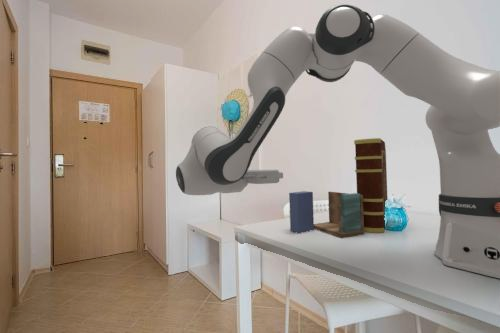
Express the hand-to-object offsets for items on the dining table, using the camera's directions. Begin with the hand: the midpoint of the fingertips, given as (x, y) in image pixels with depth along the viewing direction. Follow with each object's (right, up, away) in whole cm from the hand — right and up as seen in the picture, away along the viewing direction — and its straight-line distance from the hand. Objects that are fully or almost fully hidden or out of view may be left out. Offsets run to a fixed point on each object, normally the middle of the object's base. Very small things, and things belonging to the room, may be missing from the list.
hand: (271, 175), depth 82 cm
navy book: (+11, -19, +7) cm, 23 cm away
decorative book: (+37, -18, +11) cm, 43 cm away
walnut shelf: (+22, -19, +5) cm, 29 cm away
